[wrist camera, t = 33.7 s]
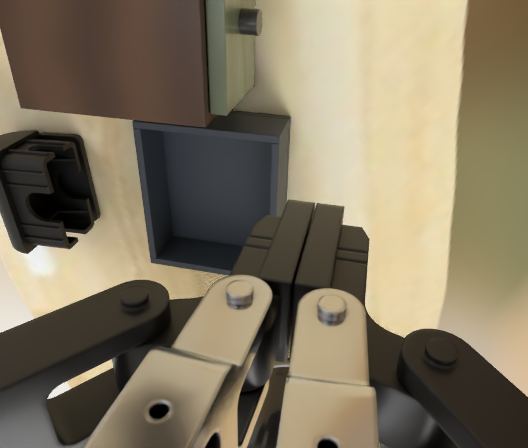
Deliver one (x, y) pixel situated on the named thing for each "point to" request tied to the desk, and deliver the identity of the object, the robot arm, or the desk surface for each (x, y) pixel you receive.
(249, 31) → the drawer
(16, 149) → the end cap
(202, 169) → the box
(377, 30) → the desk surface
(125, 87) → the cabinet
